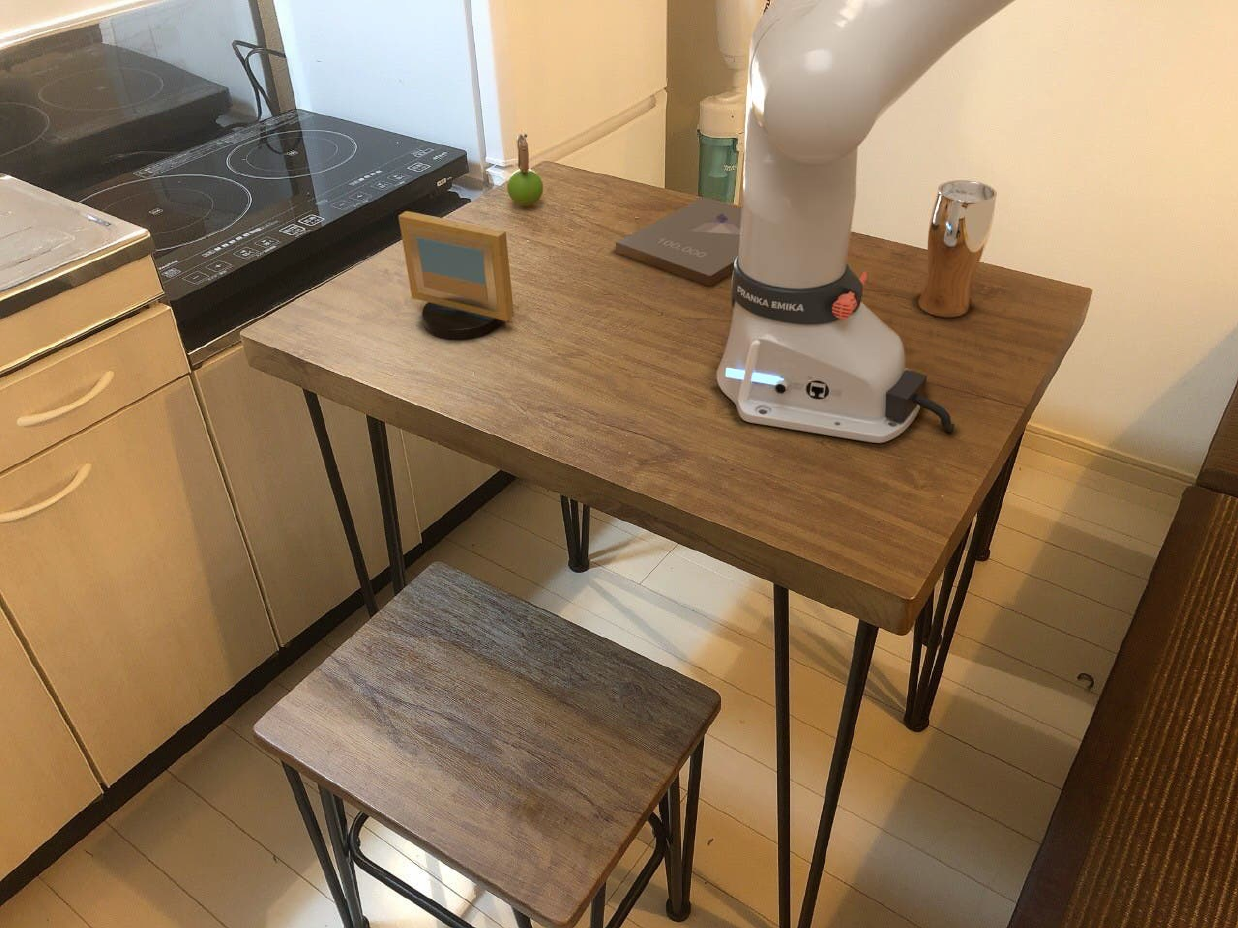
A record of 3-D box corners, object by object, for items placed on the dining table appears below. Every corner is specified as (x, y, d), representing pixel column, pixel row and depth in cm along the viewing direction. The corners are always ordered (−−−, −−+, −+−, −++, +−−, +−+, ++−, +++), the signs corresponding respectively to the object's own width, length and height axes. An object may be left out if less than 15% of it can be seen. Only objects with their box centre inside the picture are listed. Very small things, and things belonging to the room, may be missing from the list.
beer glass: (981, 303, 121) (1008, 188, 112) (957, 325, 117) (983, 208, 108) (929, 287, 125) (952, 174, 116) (904, 308, 121) (925, 193, 112)
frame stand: (519, 310, 122) (518, 300, 121) (473, 347, 115) (472, 336, 114) (455, 293, 126) (453, 283, 125) (407, 328, 119) (405, 317, 118)
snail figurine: (511, 216, 145) (504, 136, 138) (506, 199, 150) (499, 121, 143) (547, 212, 146) (542, 133, 138) (541, 195, 151) (536, 118, 143)
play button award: (615, 242, 134) (702, 197, 146) (616, 252, 135) (702, 206, 146) (710, 276, 125) (794, 225, 137) (709, 286, 126) (793, 235, 138)
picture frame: (514, 315, 118) (505, 231, 111) (506, 322, 116) (497, 237, 110) (419, 292, 123) (406, 210, 116) (411, 299, 121) (397, 216, 115)
